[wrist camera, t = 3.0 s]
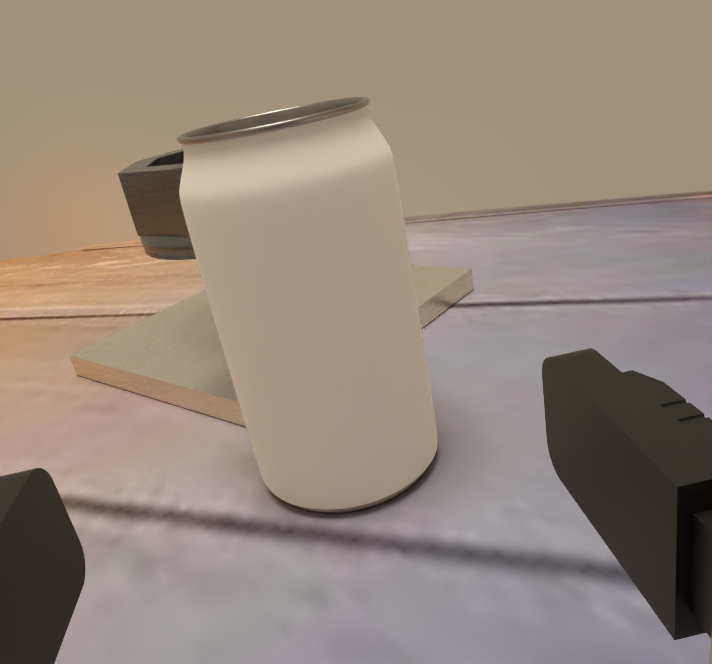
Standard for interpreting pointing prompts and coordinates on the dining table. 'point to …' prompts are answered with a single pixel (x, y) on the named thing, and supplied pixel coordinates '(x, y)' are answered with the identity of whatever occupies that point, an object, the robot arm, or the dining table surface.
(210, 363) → the cup bracket
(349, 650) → the dining table surface
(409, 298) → the can
